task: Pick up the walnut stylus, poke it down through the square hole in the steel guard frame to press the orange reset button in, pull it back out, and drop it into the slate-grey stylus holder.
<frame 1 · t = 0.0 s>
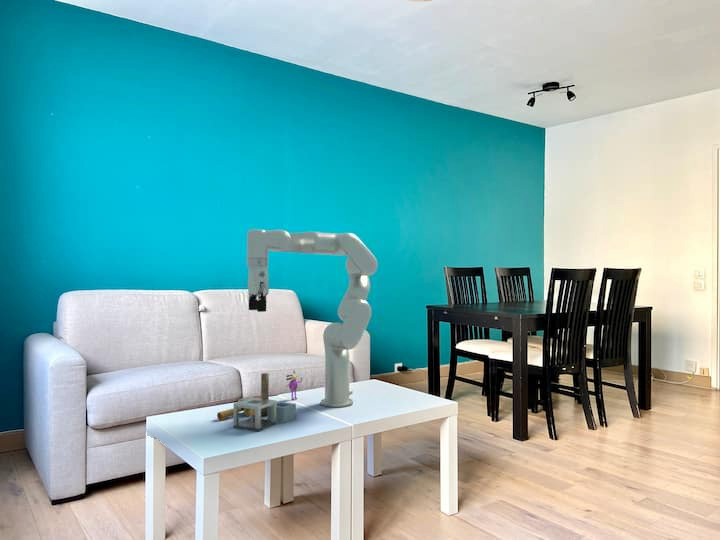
hand: (257, 310, 193), 37 cm above the table, tool pointing down, fingers open, 9 cm apart
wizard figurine: (293, 400, 215), on the table
reset button: (255, 413, 177), point 4 cm above the table, slide at 0.0 cm
guard frame: (255, 426, 177), on the table
stylus: (264, 415, 190), on the table
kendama: (241, 416, 190), on the table
stylus holder: (281, 419, 185), on the table
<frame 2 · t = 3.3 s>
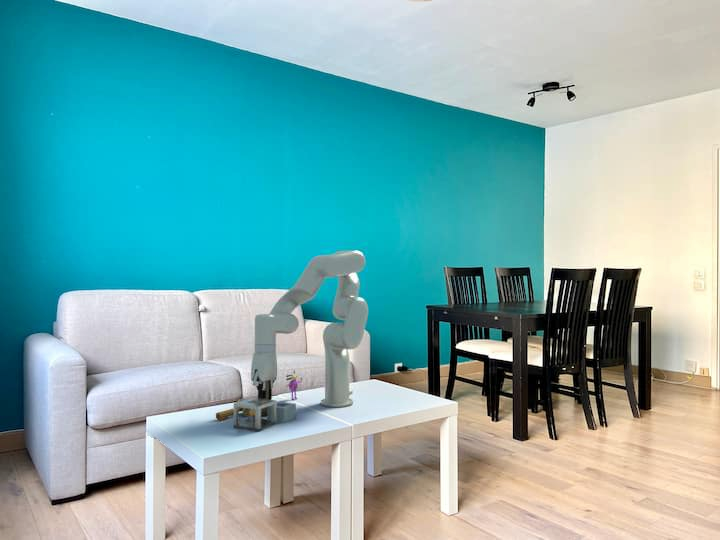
hand: (264, 399, 190), 6 cm above the table, tool pointing down, fingers closed on stylus, 2 cm apart
stylus: (264, 415, 190), on the table, touching gripper
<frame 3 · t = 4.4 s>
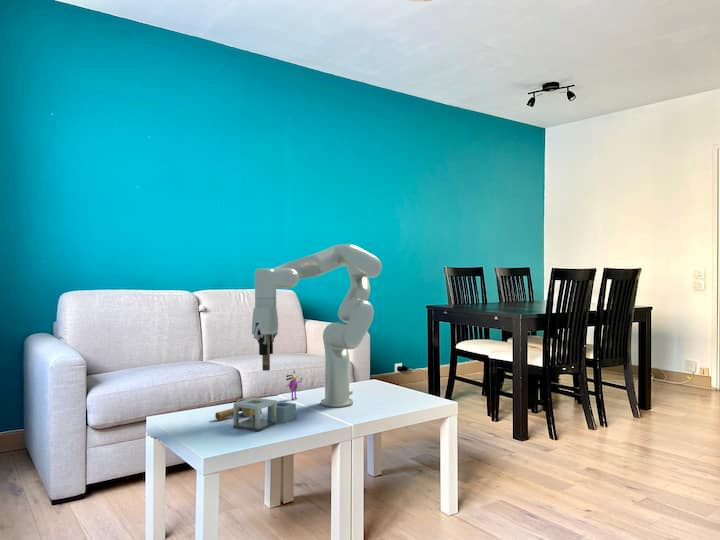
hand: (266, 353, 190), 22 cm above the table, tool pointing down, fingers closed on stylus, 2 cm apart
stylus: (266, 370, 190), point 16 cm above the table, touching gripper
everything else where it was.
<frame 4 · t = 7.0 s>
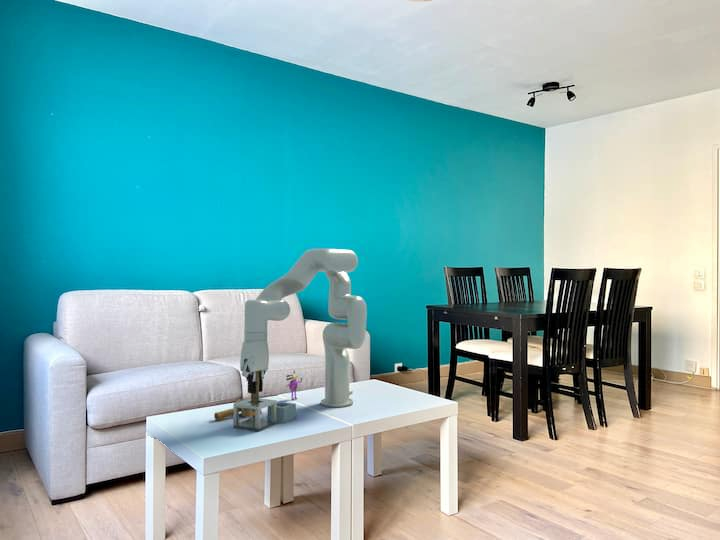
hand: (255, 391, 177), 11 cm above the table, tool pointing down, fingers closed on stylus, 2 cm apart
stylus: (254, 409, 177), point 6 cm above the table, touching gripper
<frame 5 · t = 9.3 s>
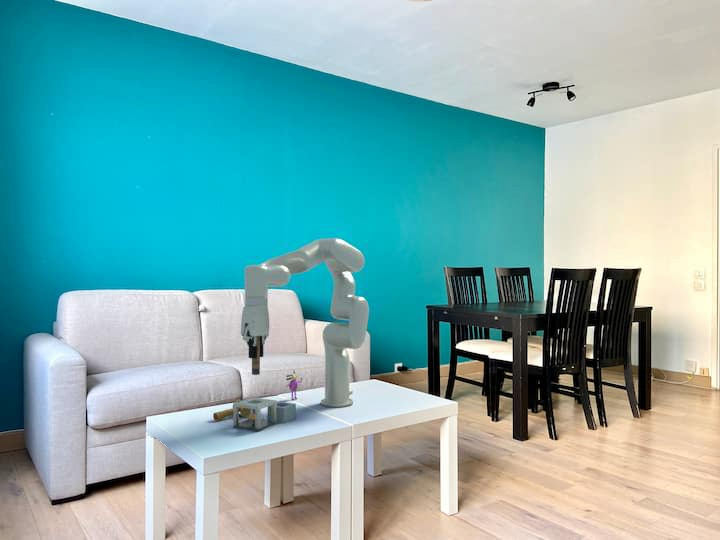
hand: (256, 356, 177), 23 cm above the table, tool pointing down, fingers closed on stylus, 2 cm apart
reset button: (255, 418, 177), point 3 cm above the table, slide at 1.5 cm
stylus: (255, 374, 177), point 17 cm above the table, touching gripper
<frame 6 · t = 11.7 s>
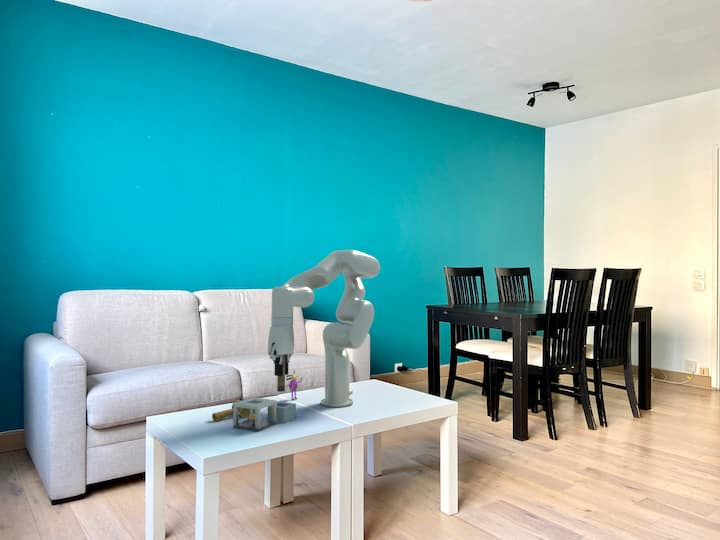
hand: (281, 374, 185), 16 cm above the table, tool pointing down, fingers closed on stylus, 2 cm apart
stylus: (281, 390, 185), point 10 cm above the table, touching gripper
when the fingers open (7 cm above the table, at t = 13.4 s): stylus drops 1 cm, resting in stylus holder.
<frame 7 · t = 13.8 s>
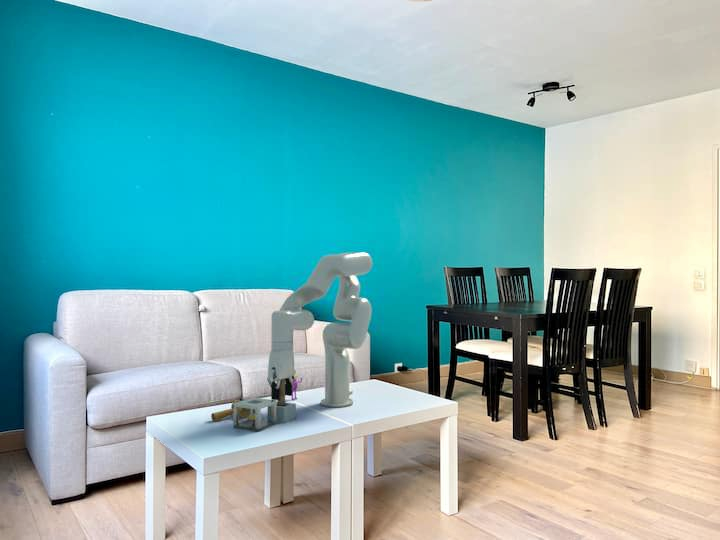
hand: (281, 397, 185), 8 cm above the table, tool pointing down, fingers open, 6 cm apart
stylus: (281, 419, 185), resting in stylus holder
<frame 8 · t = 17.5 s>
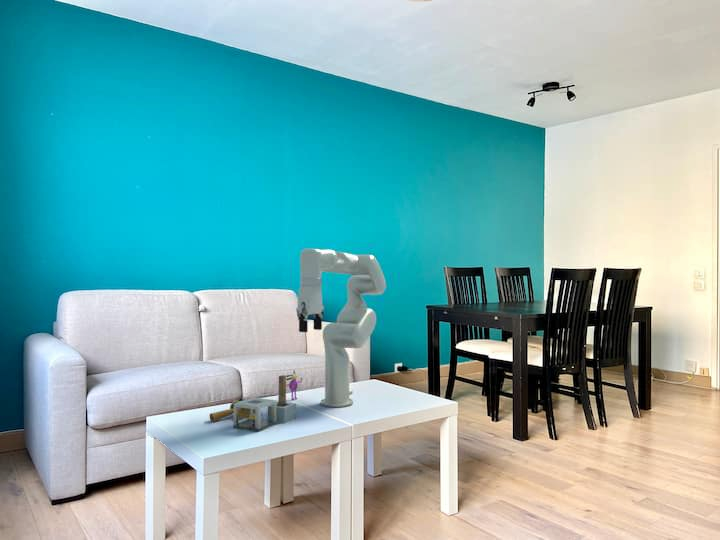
hand: (310, 330, 191), 30 cm above the table, tool pointing down, fingers open, 9 cm apart
at the end: reset button slide at 1.5 cm; stylus 0.2 cm off-centre on the stylus holder, point 0.0 cm above the stylus holder's base; the gripper is holding nothing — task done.
